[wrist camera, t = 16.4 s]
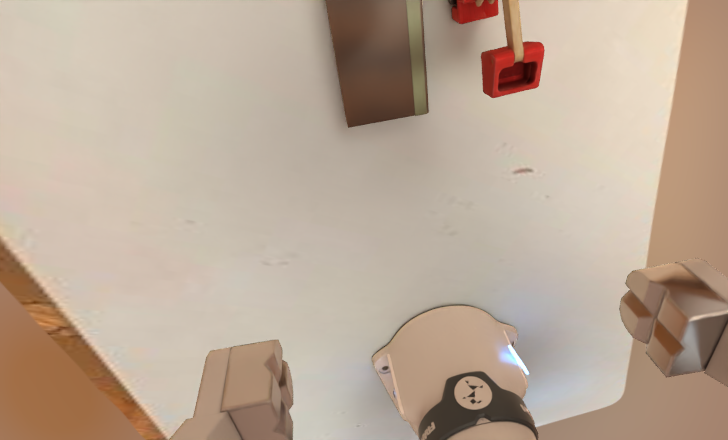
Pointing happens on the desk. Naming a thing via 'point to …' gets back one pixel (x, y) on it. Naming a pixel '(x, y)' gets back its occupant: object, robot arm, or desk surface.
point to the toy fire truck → (504, 49)
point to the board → (379, 58)
